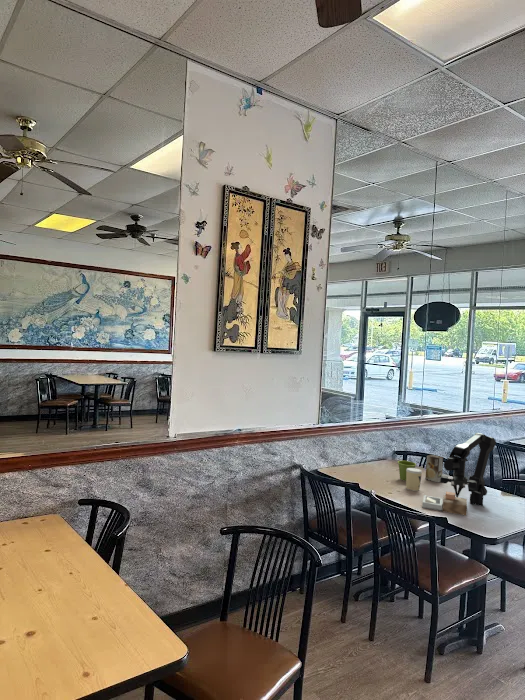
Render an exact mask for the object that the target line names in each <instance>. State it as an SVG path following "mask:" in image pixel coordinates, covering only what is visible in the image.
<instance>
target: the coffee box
mask: <svg viewBox="0 0 525 700" xmlns="http://www.w3.org/2000/svg"><path fill="white" fill-rule="evenodd" d="M425 467H426V468H425V478H424V479H425V480H427V479H428V481H430V480H431V481H432V482H435V483H441V482H440V479H441V476H443V469H444V457H443V456H439V455H436V454H429V455H426V464H425Z"/></svg>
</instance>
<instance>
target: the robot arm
mask: <svg viewBox="0 0 525 700" xmlns="http://www.w3.org/2000/svg"><path fill="white" fill-rule="evenodd" d="M496 445H497V441H496V439H495V438H494V437H491V436H488V435H486V434H484V433H481V432H475V434H474V435H473V436H471V437H470V438H469V439H468V440H466V441H465V442H464V443H459V444H456V445H455V446H454V447H453V449H452V450H451V452H450V454H449V456H448V458H447V460H445V461H443V469H445V470H446V471H447V472H449V471H453V473H452V478H449V476H446V475H442V476H441V479H440V482H439V483H441V484H448V483H450V486H451V487H453V489H454V493H455V497H458V498H459V496H460V494H461V491H462V489H463V488H466V486H467V490H468V492H471V493H469V502H470V505H473V506H474V505H475V506H476V505H477V506H481V507H484V496H485V497H486V496H487V493H488V490H487V488H486V486H485V485H486V482H485V479H484V476H485V472H486V468H487V463H488V460H489V456H490V453H491V452H492V451H493V450H494V448H495V446H496ZM477 446H478V447H479V450H480V451H479V454H478V458H477V461H476V465H475V469H474V473H473V475H470V476H469V477H466V476H465V474H466V462H469V460H468V457H469V456H470V455H471V450H473V449H475V447H477Z"/></svg>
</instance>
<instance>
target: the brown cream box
mask: <svg viewBox="0 0 525 700" xmlns="http://www.w3.org/2000/svg"><path fill="white" fill-rule="evenodd" d="M445 497H446V494H443V496H442V498H443V499H442V511H441V512H444V513H449V514H456V515H460V516H461V515H462V516H467V510H468V501H467V500H468V499H467V498H462V497H459V496H458V497H456V496H455V500H452V499H447V498H445Z"/></svg>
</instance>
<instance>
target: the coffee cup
mask: <svg viewBox="0 0 525 700" xmlns="http://www.w3.org/2000/svg"><path fill="white" fill-rule="evenodd" d="M422 473H423V472H422V469H419V468H407V469H406V481H405V487H406V490H409V491H414V492H418V491H420V487H421V481H422Z"/></svg>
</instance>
